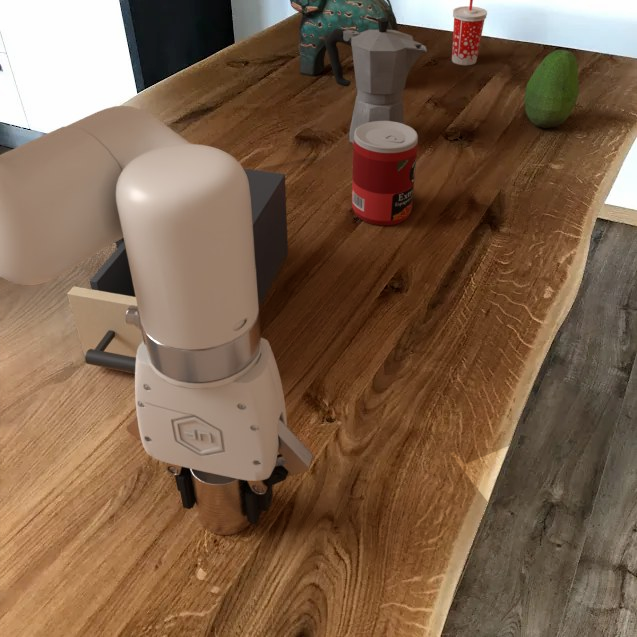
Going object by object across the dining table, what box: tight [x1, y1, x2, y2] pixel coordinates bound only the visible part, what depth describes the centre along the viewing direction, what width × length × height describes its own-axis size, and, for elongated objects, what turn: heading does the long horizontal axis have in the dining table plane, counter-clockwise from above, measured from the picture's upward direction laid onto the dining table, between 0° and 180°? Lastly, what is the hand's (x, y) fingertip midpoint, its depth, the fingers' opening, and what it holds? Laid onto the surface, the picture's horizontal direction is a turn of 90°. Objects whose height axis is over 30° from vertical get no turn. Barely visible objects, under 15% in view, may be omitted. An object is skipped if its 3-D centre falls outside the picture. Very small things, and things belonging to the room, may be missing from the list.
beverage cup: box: [451, 0, 488, 66], centre depth 133 cm, size 6×6×14 cm
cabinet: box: [115, 168, 289, 307], centre depth 81 cm, size 15×14×11 cm
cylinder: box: [190, 469, 251, 536], centre depth 58 cm, size 5×5×6 cm
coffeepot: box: [325, 18, 428, 145], centre depth 108 cm, size 15×9×18 cm, turn 65°
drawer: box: [66, 241, 143, 375], centre depth 72 cm, size 18×13×9 cm
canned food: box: [351, 121, 419, 226], centre depth 93 cm, size 8×8×11 cm
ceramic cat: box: [289, 0, 399, 77], centre depth 125 cm, size 20×6×20 cm, turn 61°
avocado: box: [523, 49, 580, 129], centre depth 112 cm, size 8×8×12 cm
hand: (226, 500), depth 59 cm, fingers closed on cylinder, 4 cm apart
